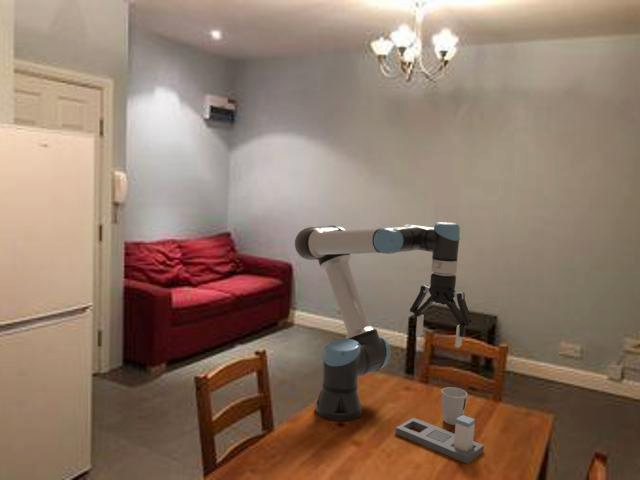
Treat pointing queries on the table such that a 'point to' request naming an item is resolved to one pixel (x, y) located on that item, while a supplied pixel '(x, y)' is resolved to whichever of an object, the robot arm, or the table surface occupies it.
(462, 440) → the plug
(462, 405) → the cup
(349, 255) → the robot arm
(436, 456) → the table surface
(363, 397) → the table surface
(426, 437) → the panel
